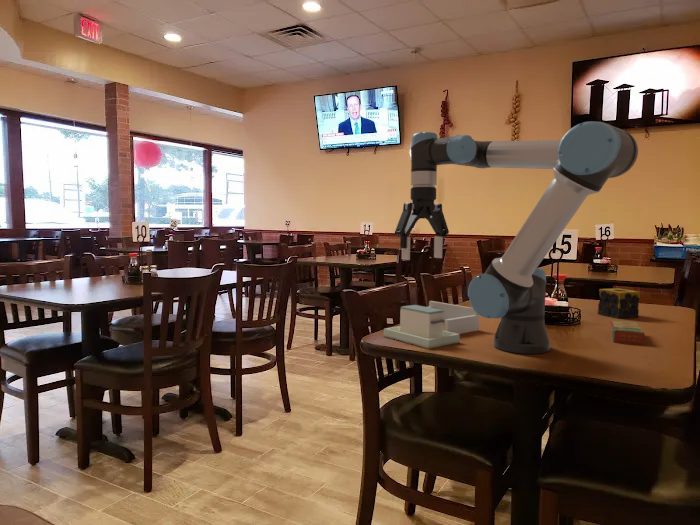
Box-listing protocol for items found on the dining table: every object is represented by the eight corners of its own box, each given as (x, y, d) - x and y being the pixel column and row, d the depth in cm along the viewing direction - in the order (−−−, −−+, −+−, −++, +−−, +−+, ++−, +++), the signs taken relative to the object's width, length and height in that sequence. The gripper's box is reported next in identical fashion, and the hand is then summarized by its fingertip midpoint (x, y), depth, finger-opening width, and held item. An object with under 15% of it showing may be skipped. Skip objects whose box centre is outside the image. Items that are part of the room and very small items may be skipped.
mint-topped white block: (445, 341, 153) (446, 310, 152) (431, 343, 149) (432, 312, 149) (414, 333, 163) (414, 304, 163) (400, 335, 160) (400, 306, 159)
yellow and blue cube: (597, 314, 202) (598, 288, 202) (617, 313, 206) (618, 288, 205) (617, 319, 193) (619, 292, 192) (639, 317, 196) (640, 291, 195)
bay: (478, 330, 171) (479, 309, 170) (447, 336, 162) (447, 313, 161) (431, 320, 188) (431, 300, 187) (400, 324, 179) (400, 304, 178)
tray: (459, 342, 153) (459, 334, 153) (428, 348, 146) (428, 340, 145) (413, 331, 168) (413, 323, 168) (383, 336, 161) (383, 328, 160)
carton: (637, 335, 167) (638, 322, 166) (644, 346, 152) (645, 332, 152) (608, 332, 170) (609, 319, 170) (612, 343, 155) (613, 329, 155)
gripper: (442, 189, 164) (441, 256, 166) (383, 185, 149) (382, 259, 150) (461, 188, 158) (459, 257, 160) (401, 184, 143) (400, 261, 144)
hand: (422, 258), depth 155 cm, fingers open, 13 cm apart
